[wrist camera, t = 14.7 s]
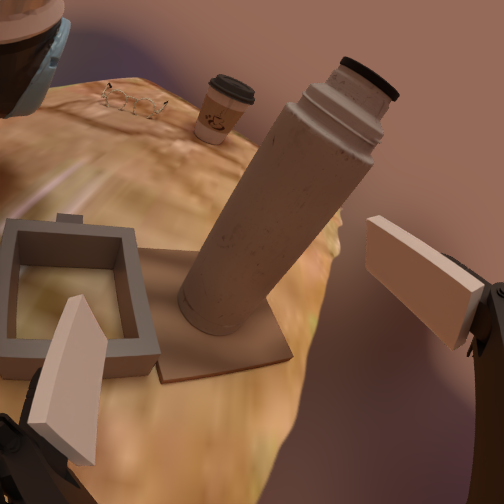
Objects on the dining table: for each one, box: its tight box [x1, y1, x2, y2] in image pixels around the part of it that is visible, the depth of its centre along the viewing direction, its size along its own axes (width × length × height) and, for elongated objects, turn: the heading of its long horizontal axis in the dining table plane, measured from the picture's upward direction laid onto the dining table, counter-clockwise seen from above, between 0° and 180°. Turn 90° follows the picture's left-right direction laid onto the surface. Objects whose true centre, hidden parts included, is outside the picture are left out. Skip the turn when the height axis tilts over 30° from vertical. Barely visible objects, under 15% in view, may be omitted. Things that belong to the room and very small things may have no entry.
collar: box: [0, 213, 161, 380], centre depth 24 cm, size 16×14×5 cm
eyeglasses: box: [102, 83, 168, 119], centre depth 63 cm, size 17×15×5 cm
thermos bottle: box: [178, 57, 400, 335], centre depth 26 cm, size 8×8×28 cm
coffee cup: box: [194, 74, 255, 145], centre depth 64 cm, size 11×11×15 cm
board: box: [137, 248, 294, 384], centre depth 34 cm, size 16×16×1 cm
